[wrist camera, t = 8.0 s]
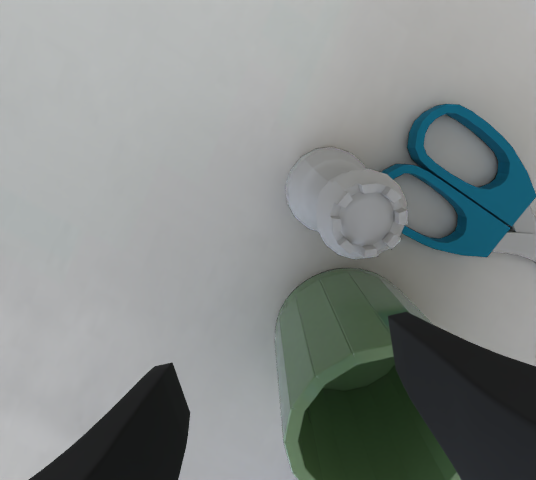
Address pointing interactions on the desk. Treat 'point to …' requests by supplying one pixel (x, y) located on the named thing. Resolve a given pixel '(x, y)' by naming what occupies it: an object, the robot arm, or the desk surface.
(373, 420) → the planter
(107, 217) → the desk surface
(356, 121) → the desk surface
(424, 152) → the scissors
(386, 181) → the rook chess piece
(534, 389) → the robot arm
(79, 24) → the desk surface
